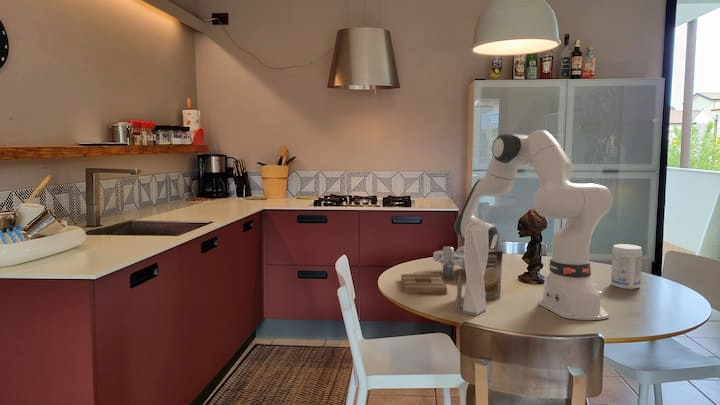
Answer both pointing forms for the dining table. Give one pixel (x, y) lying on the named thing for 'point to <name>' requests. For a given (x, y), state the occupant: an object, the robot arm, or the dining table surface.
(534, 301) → the dining table surface
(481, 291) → the skyscraper
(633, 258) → the supplement tub
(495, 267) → the coffee box
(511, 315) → the dining table surface
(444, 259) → the steel pin
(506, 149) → the robot arm
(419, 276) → the slot plate
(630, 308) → the dining table surface
